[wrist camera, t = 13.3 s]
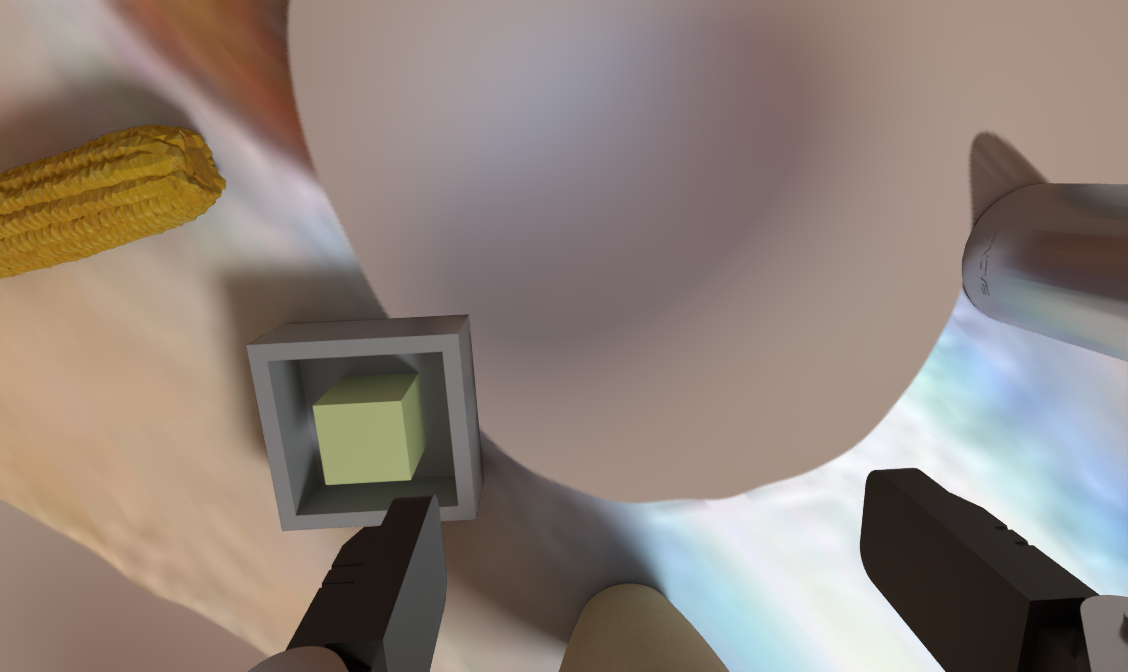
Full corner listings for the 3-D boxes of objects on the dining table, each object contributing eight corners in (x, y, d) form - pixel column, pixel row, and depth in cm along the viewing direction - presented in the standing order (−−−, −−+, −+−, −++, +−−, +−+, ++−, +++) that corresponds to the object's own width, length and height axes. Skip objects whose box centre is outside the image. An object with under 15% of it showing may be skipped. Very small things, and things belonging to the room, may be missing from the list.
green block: (418, 372, 38) (401, 400, 33) (427, 443, 40) (410, 480, 35) (341, 377, 38) (312, 405, 33) (352, 447, 39) (325, 485, 35)
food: (210, 116, 35) (145, 103, 29) (252, 208, 36) (197, 213, 31) (-109, 226, 36) (-232, 236, 30) (-55, 312, 37) (-164, 336, 32)
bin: (468, 314, 38) (458, 333, 34) (483, 479, 42) (475, 519, 37) (283, 324, 38) (246, 345, 33) (312, 489, 41) (282, 531, 36)
